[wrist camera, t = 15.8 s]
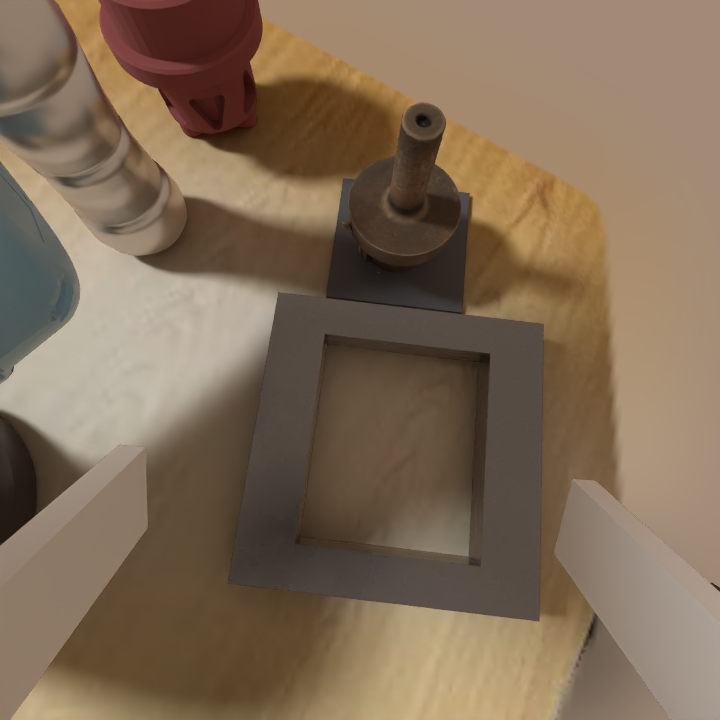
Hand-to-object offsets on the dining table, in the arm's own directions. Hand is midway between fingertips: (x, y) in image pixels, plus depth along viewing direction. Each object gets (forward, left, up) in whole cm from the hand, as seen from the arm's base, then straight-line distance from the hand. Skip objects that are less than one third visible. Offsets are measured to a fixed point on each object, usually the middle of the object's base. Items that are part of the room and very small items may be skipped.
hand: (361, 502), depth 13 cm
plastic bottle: (-18, +16, -15) cm, 29 cm away
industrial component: (+2, +17, -15) cm, 23 cm away
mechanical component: (-15, +27, -15) cm, 35 cm away
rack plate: (+2, +2, -15) cm, 16 cm away
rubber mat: (+1, +17, -15) cm, 23 cm away
